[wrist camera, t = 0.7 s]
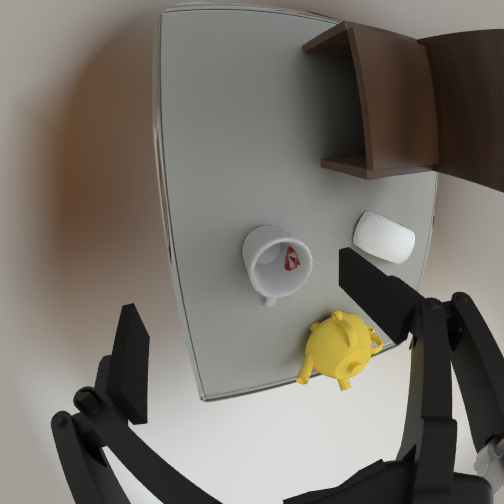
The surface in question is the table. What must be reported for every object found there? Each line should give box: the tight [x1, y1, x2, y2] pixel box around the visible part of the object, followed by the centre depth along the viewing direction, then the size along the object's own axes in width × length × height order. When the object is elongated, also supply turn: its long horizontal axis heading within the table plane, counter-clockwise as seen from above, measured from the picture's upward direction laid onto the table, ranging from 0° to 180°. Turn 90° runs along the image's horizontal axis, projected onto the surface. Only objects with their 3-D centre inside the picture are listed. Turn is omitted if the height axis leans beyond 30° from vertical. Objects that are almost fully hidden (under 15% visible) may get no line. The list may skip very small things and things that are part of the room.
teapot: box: [296, 310, 383, 391], centre depth 45 cm, size 14×14×11 cm
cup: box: [242, 225, 313, 307], centre depth 36 cm, size 11×8×8 cm
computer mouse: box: [353, 212, 415, 263], centre depth 41 cm, size 6×13×6 cm, turn 71°
